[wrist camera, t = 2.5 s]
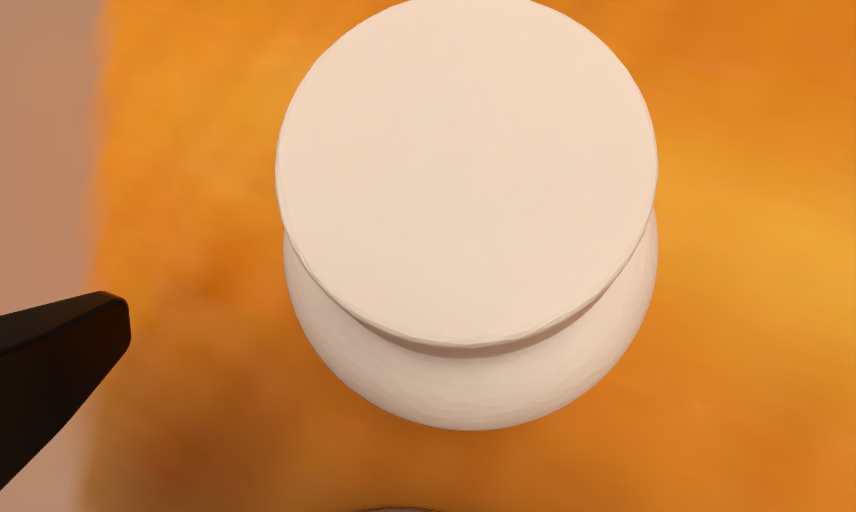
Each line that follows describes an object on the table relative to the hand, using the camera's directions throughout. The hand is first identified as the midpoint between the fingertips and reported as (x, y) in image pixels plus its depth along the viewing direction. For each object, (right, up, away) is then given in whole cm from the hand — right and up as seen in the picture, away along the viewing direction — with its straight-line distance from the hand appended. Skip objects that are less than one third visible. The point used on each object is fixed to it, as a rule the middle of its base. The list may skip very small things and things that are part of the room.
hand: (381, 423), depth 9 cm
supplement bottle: (+2, 0, +11) cm, 11 cm away
